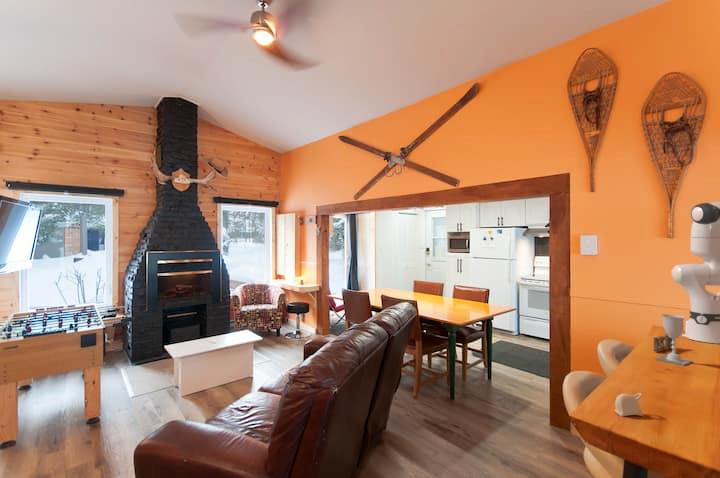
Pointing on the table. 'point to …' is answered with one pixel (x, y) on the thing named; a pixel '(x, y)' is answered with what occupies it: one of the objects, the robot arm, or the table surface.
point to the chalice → (673, 332)
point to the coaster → (683, 362)
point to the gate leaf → (662, 343)
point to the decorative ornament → (628, 405)
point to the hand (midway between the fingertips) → (714, 298)
